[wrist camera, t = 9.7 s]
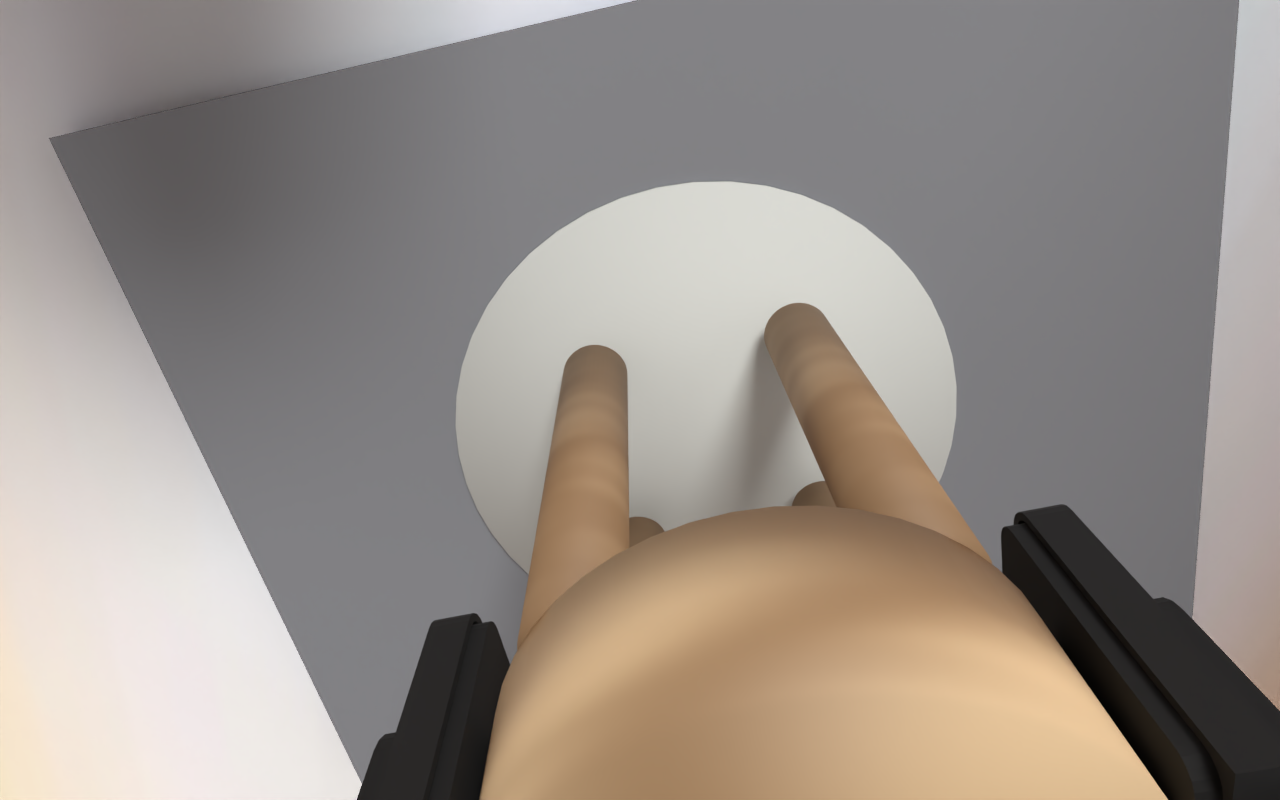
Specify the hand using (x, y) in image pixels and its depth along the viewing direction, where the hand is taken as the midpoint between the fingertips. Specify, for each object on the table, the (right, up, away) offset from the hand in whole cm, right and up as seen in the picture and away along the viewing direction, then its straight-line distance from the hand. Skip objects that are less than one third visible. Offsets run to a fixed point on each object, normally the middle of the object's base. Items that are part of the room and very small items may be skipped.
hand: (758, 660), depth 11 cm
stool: (0, +3, +6) cm, 6 cm away
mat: (0, +3, +7) cm, 7 cm away
